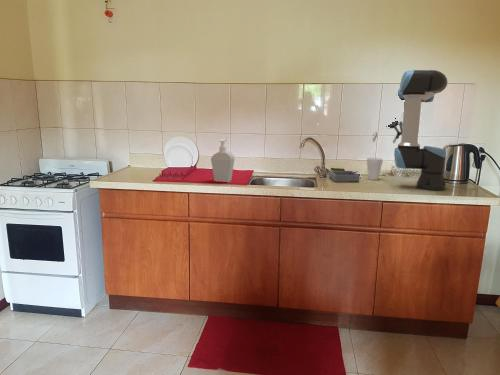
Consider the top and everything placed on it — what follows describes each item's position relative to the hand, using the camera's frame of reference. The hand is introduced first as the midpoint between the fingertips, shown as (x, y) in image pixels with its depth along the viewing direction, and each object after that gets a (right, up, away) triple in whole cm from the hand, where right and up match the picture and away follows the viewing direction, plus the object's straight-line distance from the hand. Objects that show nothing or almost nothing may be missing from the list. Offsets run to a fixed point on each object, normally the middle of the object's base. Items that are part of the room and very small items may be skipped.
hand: (383, 141), depth 245 cm
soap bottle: (-102, -26, -13) cm, 106 cm away
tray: (-27, -25, -7) cm, 38 cm away
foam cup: (-8, -25, -3) cm, 26 cm away
